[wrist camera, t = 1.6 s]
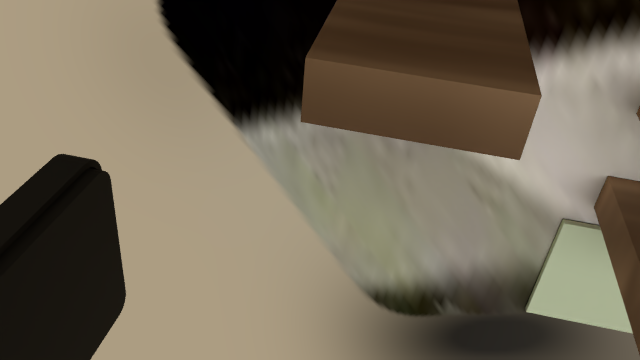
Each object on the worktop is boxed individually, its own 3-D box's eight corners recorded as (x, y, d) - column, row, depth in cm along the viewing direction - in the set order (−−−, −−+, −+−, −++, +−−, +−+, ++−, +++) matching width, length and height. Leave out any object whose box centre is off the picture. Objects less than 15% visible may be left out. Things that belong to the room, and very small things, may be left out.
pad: (562, 219, 25) (563, 223, 25) (733, 250, 25) (735, 255, 24) (525, 307, 29) (526, 311, 28) (674, 337, 28) (676, 342, 28)
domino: (366, -53, 21) (305, 57, 13) (508, -33, 20) (541, 96, 12) (360, -8, 22) (301, 121, 14) (497, 12, 21) (519, 160, 13)
